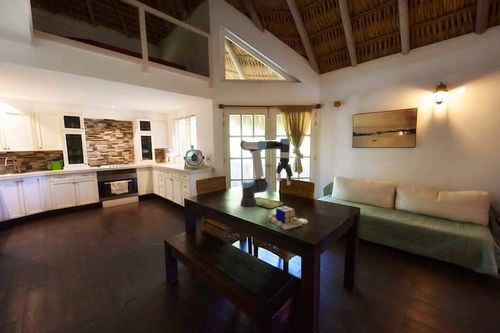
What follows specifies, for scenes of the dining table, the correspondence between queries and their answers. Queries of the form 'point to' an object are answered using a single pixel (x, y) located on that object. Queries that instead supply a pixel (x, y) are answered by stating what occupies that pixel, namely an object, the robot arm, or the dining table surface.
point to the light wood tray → (285, 226)
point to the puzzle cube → (285, 214)
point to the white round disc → (304, 221)
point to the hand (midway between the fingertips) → (283, 182)
